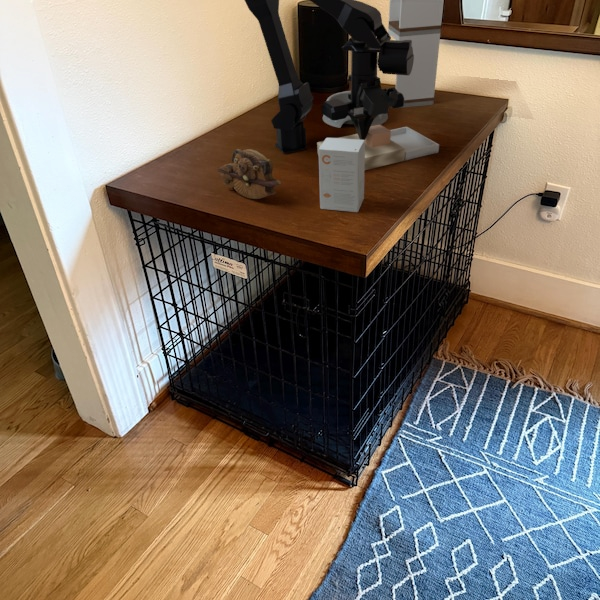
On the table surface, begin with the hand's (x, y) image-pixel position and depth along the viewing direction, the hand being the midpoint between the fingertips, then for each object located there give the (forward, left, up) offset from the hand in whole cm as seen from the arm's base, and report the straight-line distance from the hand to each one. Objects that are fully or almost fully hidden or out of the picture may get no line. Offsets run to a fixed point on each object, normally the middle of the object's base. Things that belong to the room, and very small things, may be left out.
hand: (362, 140), depth 133 cm
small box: (-15, -19, -4) cm, 25 cm away
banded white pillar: (+33, +29, -4) cm, 44 cm away
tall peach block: (+4, 0, -1) cm, 4 cm away
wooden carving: (-31, -6, -4) cm, 32 cm away
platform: (0, 0, -4) cm, 4 cm away
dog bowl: (+12, +25, -5) cm, 28 cm away
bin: (+13, 0, -4) cm, 13 cm away
